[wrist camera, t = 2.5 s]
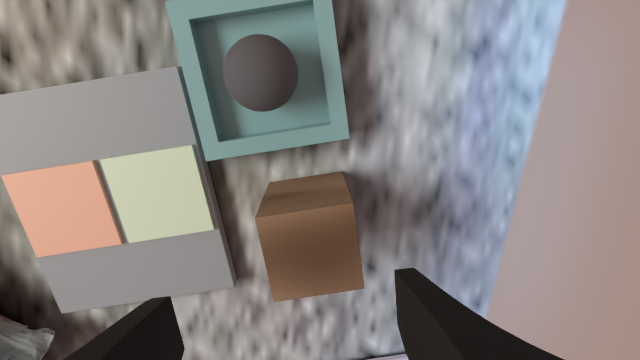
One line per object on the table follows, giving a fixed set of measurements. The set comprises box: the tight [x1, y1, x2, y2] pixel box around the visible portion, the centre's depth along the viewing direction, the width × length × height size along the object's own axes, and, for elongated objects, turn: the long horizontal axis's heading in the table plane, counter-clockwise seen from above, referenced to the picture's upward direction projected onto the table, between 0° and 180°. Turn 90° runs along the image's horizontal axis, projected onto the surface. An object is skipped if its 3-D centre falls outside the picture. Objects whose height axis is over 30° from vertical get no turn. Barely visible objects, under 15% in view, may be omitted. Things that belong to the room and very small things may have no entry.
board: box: [0, 66, 237, 314], centre depth 18 cm, size 12×10×1 cm
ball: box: [223, 34, 298, 112], centre depth 15 cm, size 3×3×3 cm
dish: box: [165, 0, 350, 161], centre depth 16 cm, size 7×7×2 cm
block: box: [255, 171, 364, 302], centre depth 17 cm, size 4×4×5 cm
